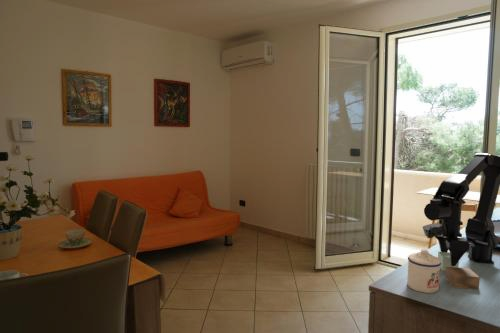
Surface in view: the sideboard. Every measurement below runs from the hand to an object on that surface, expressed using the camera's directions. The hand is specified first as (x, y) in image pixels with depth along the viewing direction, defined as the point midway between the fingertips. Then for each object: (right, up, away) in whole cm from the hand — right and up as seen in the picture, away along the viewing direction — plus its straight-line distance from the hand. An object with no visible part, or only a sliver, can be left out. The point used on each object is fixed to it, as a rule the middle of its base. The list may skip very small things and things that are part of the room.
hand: (448, 261), depth 123 cm
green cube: (0, -3, 0) cm, 3 cm away
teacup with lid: (-15, -4, -13) cm, 20 cm away
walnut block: (-2, -4, -11) cm, 12 cm away
